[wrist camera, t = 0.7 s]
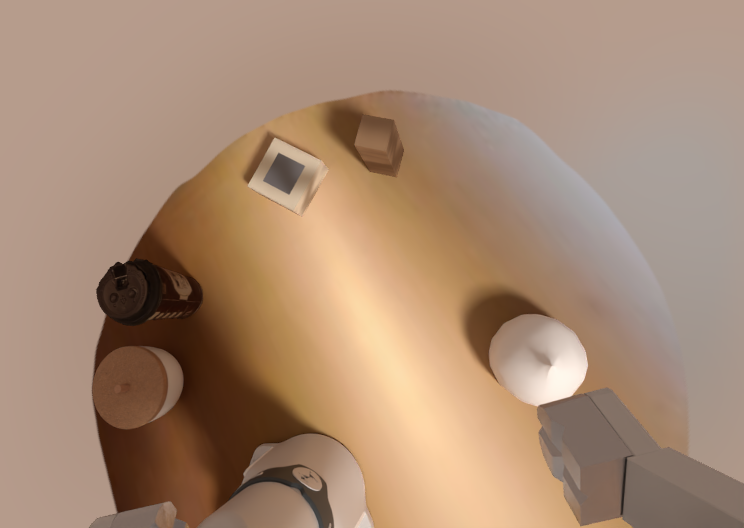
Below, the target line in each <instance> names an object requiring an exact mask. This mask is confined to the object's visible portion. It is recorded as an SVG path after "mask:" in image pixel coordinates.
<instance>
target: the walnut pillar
mask: <svg viewBox="0 0 744 528" xmlns="http://www.w3.org/2000/svg"><path fill="white" fill-rule="evenodd" d="M354 146H355V147H356V149H357V151H358V152H359V154H360V156H361V157H362V159H363V161H364V162H365V164H366V166H367V167H368V169H369V171H370V172H374V173H379V174H384V175H389V176H393V177H397V174H398V171H399V167H400V163H401V160H402V156H403V152H404V149H403V146H402V143H401V140H400V137H399V134H398V131H397V128H396V125H395V122H394V120H391V119H386V118H380V117H374V116H369V115H362V119H361V122H360V126H359V129H358V133H357V137H356V140H355V144H354Z"/></svg>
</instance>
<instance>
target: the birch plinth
mask: <svg viewBox="0 0 744 528" xmlns="http://www.w3.org/2000/svg"><path fill="white" fill-rule="evenodd" d="M328 170H329V169H328V168H327V167H326V165H325V164H324V163H323V162H322V161H321V160H319V159H317V158H315V157H313V156H311V155H309V154H307V153H305V152H303V151H301V150H299V149H297V148H295V147H293V146H291V145H289V144H287V143H285V142H283V141H281V140H279V139H277V138H274V139H273V141H272V143H271V145H270V147H269V148H268V150H267V152H266V154H265V156H264V157H263V159H262V161H261V163H260V165H259V166H258V168H257V170H256V172H255V173H254V175H253V177H252V179H251V181H250V182H249V184H248V187H249V188H251V189H252V190H254V191H256V192H257V193H259V194H260V195H262V196H264V197H266V198H268V199H270V200H272V201H273V202H275V203H277V204H279V205H281V206H283V207H285V208H286V209H288V210H290V211H292V212H294V213H296V214H298V215H299V216H301V217H303V215H304V213H305V212H306V210H307V208H308V206H309V204H310V203H311V201H312V199H313V197H314V195H315V194H316V192H317V190H318V188H319V186H320V185H321V183H322V181H323V179H324V177H325V175H326V174H327V172H328Z"/></svg>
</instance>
